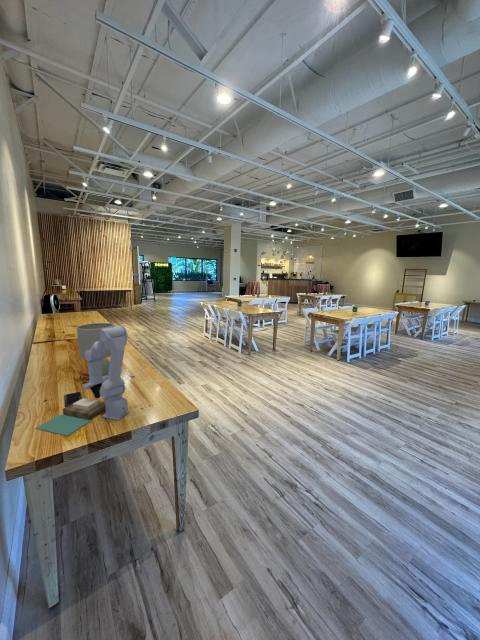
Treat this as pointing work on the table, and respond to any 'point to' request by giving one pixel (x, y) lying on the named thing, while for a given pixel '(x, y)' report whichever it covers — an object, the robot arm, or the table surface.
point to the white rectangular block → (85, 404)
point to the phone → (72, 398)
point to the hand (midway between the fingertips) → (97, 397)
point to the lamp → (87, 339)
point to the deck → (84, 411)
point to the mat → (63, 425)
